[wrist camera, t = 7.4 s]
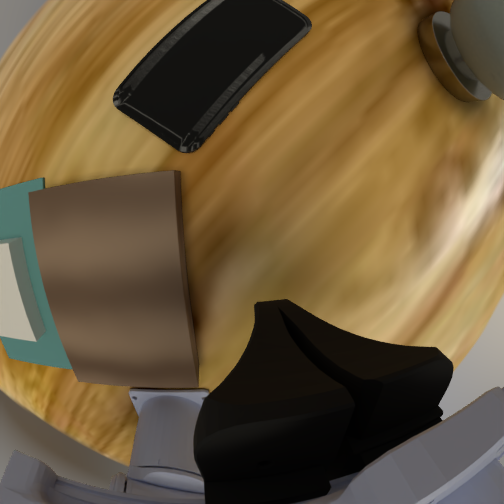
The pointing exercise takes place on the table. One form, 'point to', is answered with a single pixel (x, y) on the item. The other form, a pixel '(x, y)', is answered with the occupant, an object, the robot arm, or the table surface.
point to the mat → (19, 225)
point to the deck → (118, 278)
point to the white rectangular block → (17, 295)
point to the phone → (207, 67)
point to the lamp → (466, 48)
